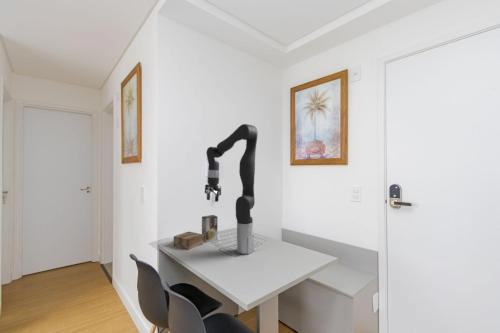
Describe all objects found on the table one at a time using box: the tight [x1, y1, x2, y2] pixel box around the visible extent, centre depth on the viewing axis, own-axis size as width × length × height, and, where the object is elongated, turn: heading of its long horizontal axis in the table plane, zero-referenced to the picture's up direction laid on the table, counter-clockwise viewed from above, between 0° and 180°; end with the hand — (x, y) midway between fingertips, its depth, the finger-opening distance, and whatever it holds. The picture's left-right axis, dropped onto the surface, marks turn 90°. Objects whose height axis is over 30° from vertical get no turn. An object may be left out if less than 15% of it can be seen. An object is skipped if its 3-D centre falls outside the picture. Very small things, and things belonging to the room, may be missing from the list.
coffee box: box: [201, 214, 218, 243], centre depth 163 cm, size 9×6×16 cm
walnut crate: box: [173, 231, 204, 251], centre depth 153 cm, size 13×13×6 cm
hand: (212, 200), depth 161 cm, fingers open, 8 cm apart
